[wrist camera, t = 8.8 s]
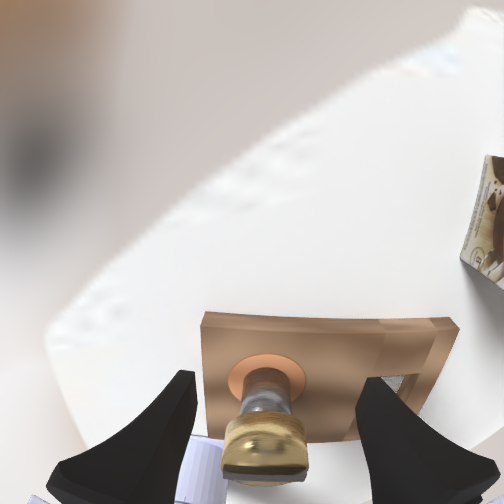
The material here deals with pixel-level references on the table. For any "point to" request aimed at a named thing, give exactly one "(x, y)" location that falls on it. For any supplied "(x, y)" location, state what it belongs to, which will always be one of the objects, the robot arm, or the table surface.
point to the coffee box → (488, 224)
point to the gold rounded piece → (265, 434)
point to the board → (320, 364)
